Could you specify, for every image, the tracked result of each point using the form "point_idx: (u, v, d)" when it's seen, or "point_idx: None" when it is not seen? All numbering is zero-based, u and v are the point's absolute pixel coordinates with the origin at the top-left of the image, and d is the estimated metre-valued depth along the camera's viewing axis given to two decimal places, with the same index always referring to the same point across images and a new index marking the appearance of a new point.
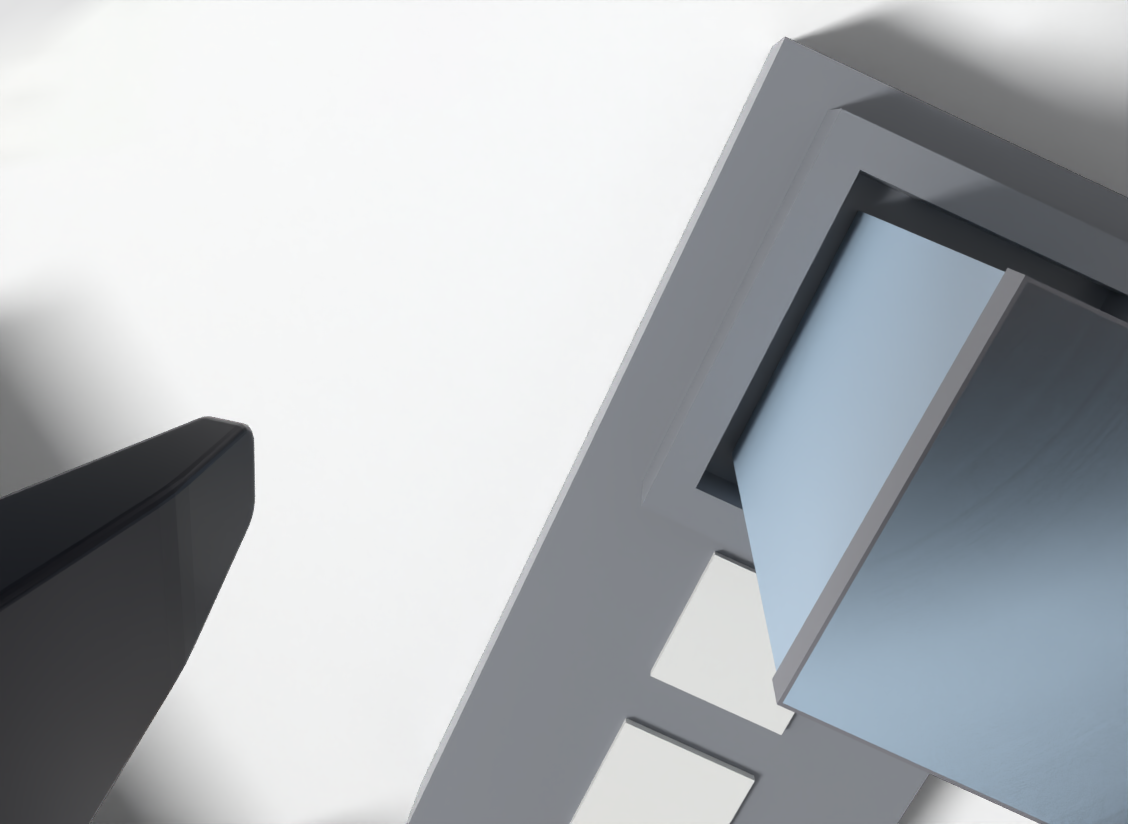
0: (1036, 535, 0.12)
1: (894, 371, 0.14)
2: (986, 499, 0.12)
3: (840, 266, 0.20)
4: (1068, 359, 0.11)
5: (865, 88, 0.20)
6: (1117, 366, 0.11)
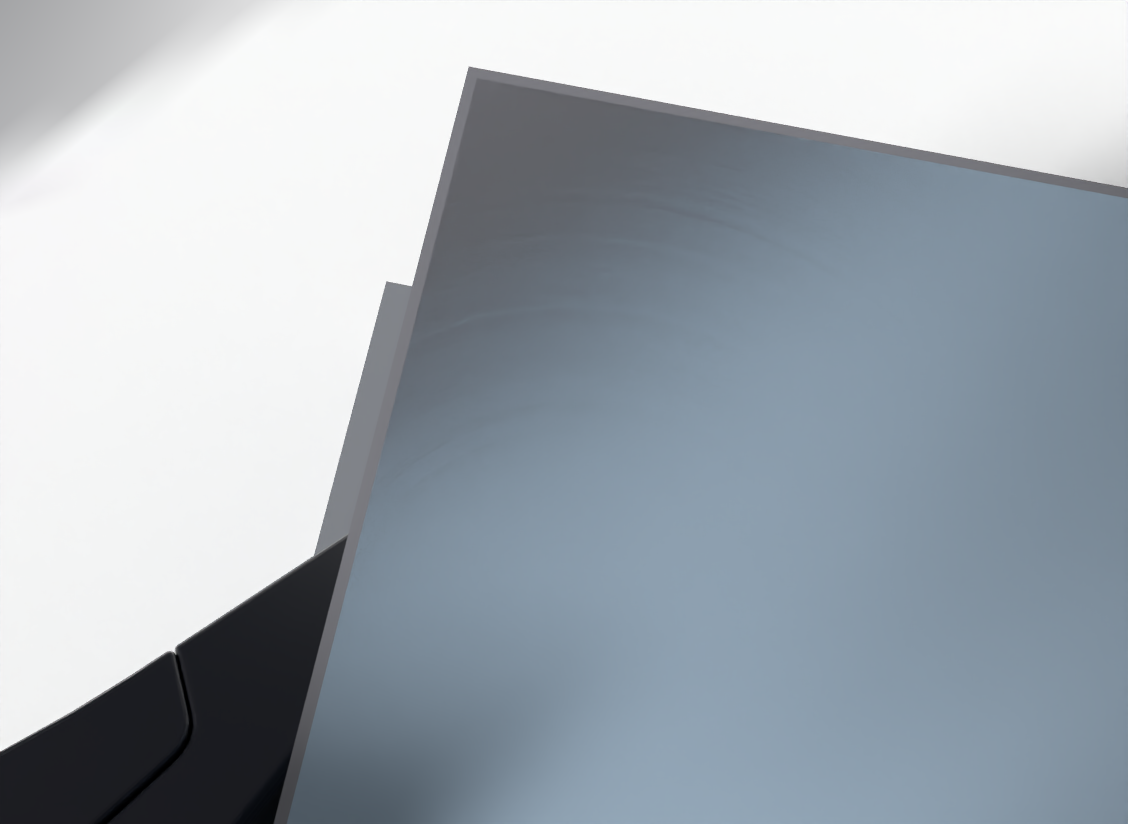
0: (710, 669, 0.04)
1: None
2: (549, 599, 0.04)
3: None
4: (624, 216, 0.05)
5: None
6: (738, 208, 0.05)
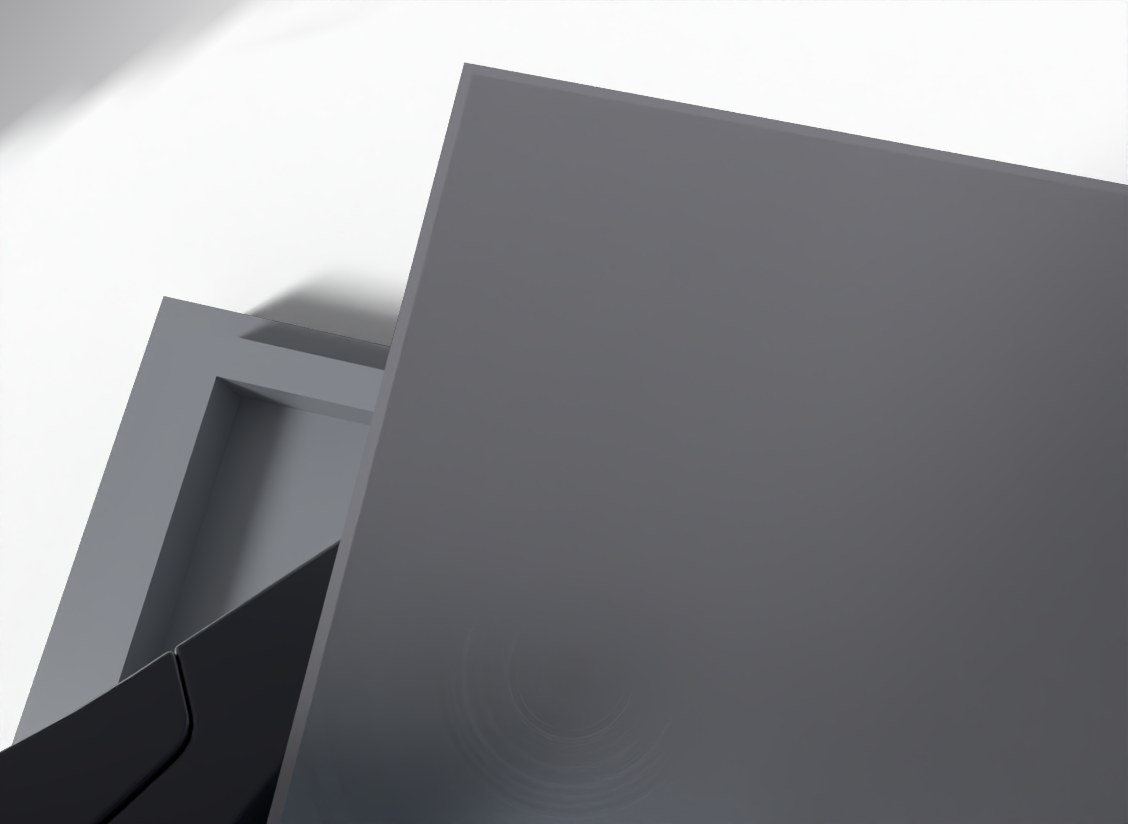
0: (702, 661, 0.04)
1: None
2: (544, 594, 0.04)
3: None
4: (619, 211, 0.05)
5: (245, 325, 0.21)
6: (732, 203, 0.05)
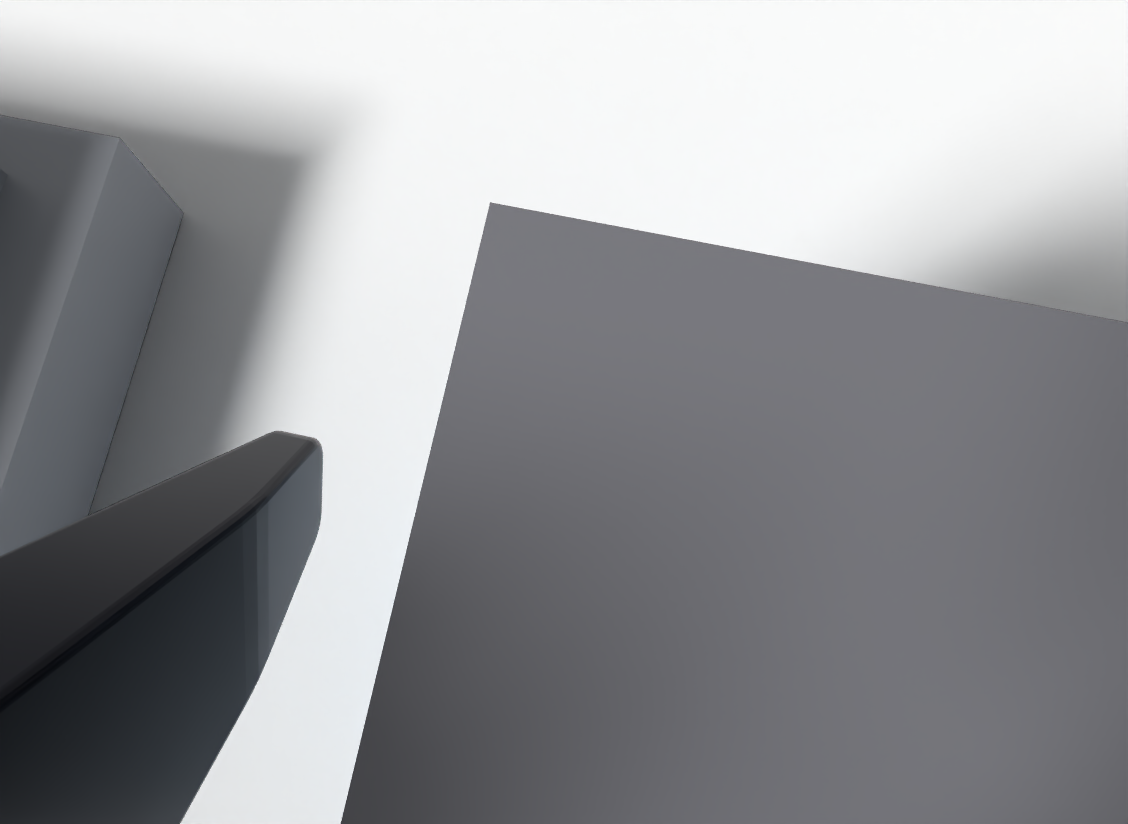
0: (674, 665, 0.06)
1: None
2: (554, 614, 0.06)
3: None
4: (609, 320, 0.06)
5: None
6: (696, 313, 0.06)
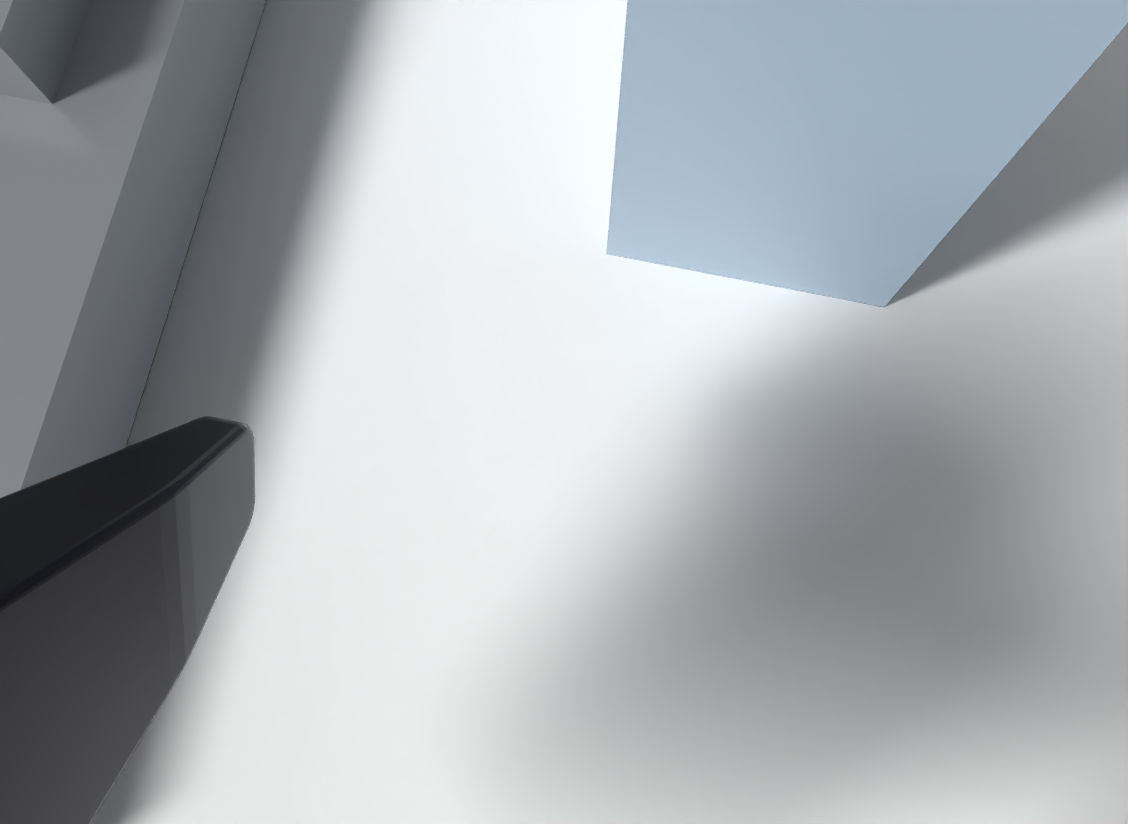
0: None
1: None
2: None
3: None
4: None
5: None
6: None
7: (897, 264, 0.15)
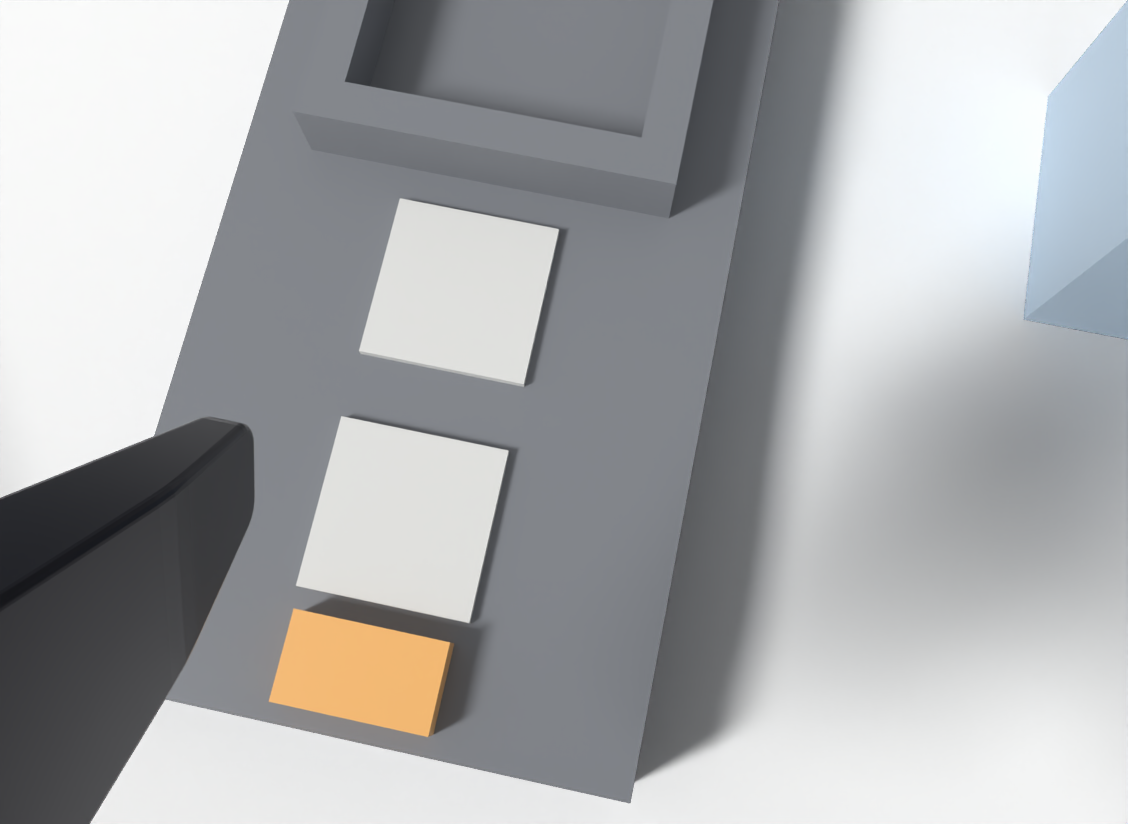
0: None
1: None
2: None
3: (1063, 115, 0.23)
4: None
5: None
6: None
7: None
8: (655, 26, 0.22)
